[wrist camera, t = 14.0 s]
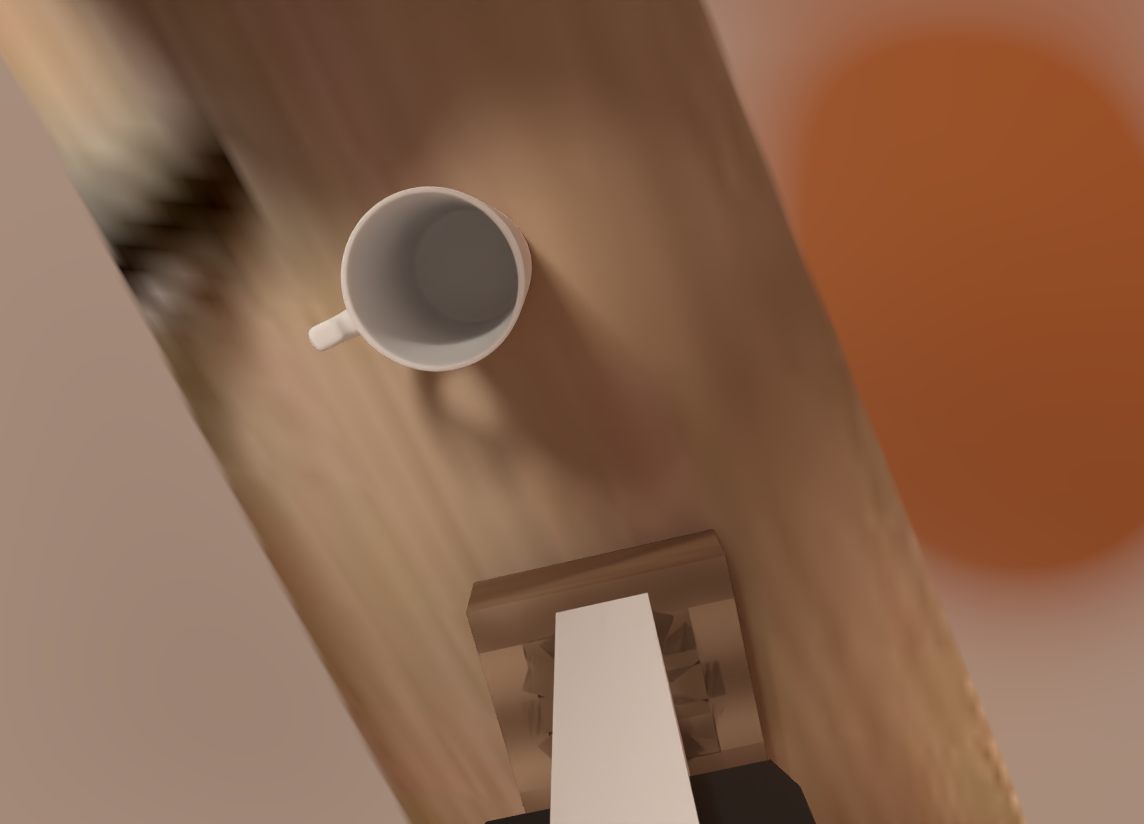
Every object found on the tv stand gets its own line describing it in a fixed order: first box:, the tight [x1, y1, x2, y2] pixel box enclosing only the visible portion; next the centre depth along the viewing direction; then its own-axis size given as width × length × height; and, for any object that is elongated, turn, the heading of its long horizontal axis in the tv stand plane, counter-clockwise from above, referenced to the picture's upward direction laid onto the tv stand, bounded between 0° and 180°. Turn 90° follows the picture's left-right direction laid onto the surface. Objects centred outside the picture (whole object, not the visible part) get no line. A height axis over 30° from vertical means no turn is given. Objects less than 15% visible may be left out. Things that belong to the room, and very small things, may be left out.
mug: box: [309, 186, 532, 372], centre depth 34 cm, size 10×7×12 cm, turn 115°
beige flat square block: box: [466, 530, 767, 813], centre depth 43 cm, size 14×14×4 cm
